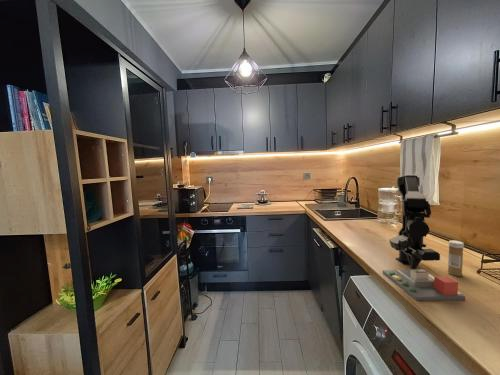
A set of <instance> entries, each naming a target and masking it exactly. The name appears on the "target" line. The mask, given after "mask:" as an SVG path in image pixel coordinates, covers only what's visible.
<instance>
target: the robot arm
mask: <svg viewBox="0 0 500 375" xmlns="http://www.w3.org/2000/svg"><path fill="white" fill-rule="evenodd" d="M420 179H421V178H420V177H419V176H418V175H417V174H404V175H403V176H400V177H397V179H396V188H398V192H399V195H401V201H402V202H401V204H402V205H401V208H402V210H401V219H402V220H401V224H402V225H401V228H400V230H399V231H398V232H397V235H396V236H394V237H391V238H389V239H388V241H389V244H390V247H391V249H392V248H393V249H394V250H396V251H398V257H395V260H397V261H399V263H402V265H409V267H410V270H417V269H416V268H417V267H418V266H419V264H420V263H421V262H422V261H425V262H426V261H427V262H428V261H431V262H432V261H441V254H440V253H439V252H438V251H436V250H434V249H432V248H426V247H427V244H425V243H424V237H427V235H428V234H429V232H430V226H429V225H428V223H426V221H425V218H426V219H428V218H429V219H430V218H431V216H432V210H431V203H429V200H427V198H426V195H424V194H422V193H420V188H419V187H420V186H421V185H420V184H421V182H420Z"/></svg>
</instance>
